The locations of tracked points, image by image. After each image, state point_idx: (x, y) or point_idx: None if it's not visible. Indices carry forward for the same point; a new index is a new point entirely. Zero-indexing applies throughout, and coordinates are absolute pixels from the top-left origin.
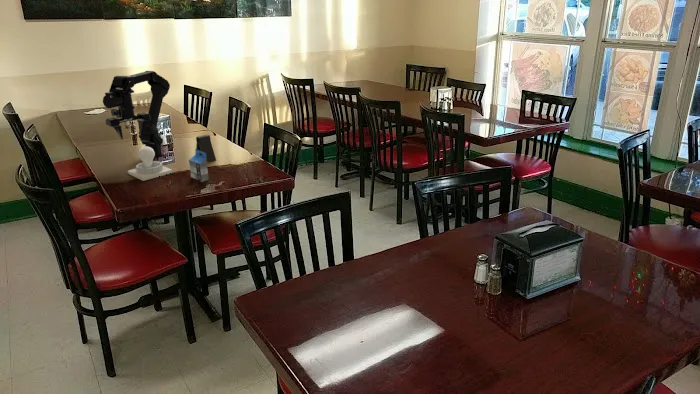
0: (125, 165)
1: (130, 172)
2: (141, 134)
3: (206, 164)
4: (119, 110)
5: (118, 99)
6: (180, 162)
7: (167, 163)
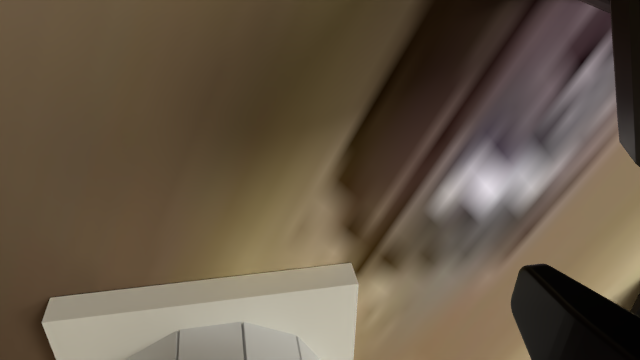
0: (96, 13)
1: (58, 357)
2: (533, 338)
3: None
4: None
5: None
6: None
7: (456, 242)
